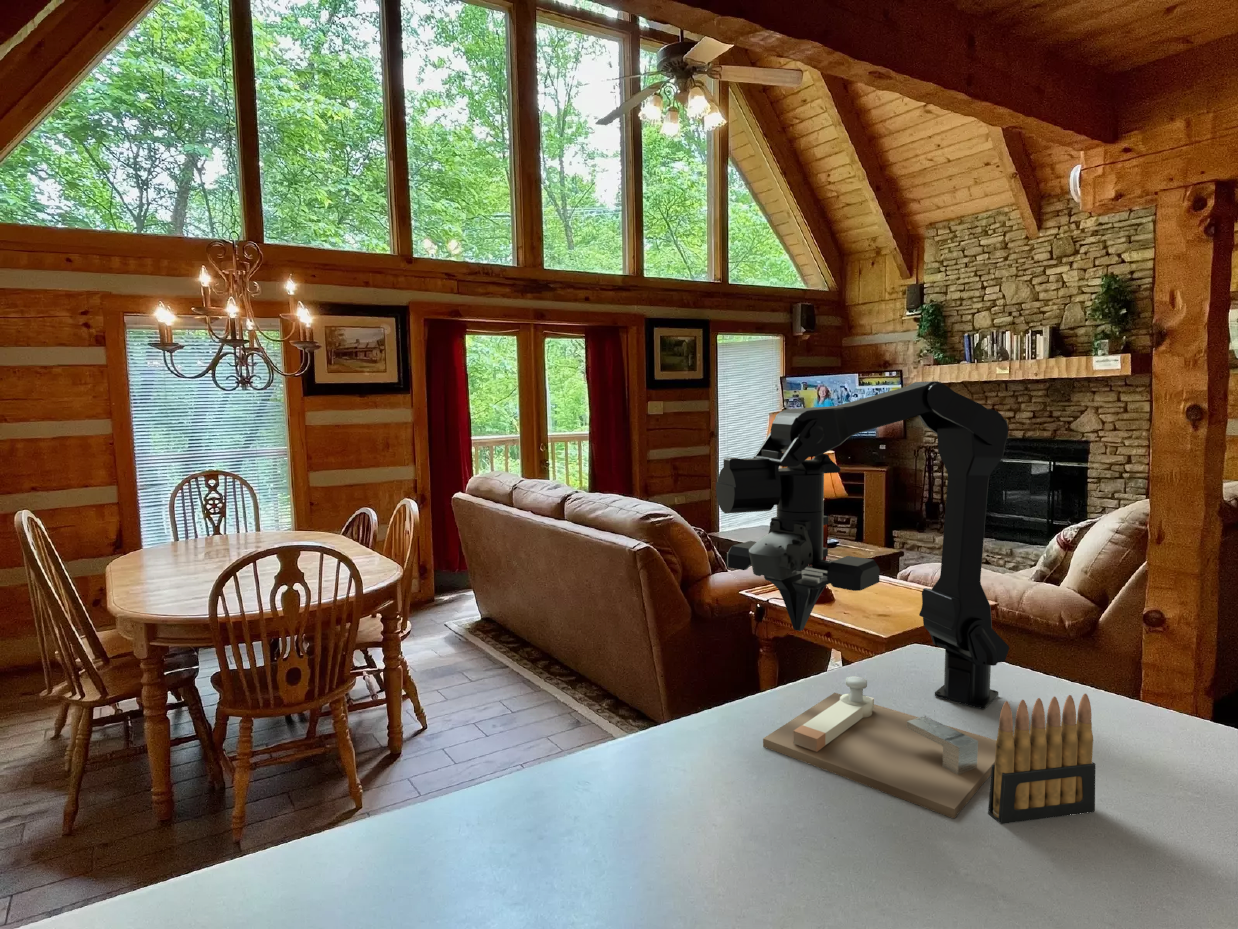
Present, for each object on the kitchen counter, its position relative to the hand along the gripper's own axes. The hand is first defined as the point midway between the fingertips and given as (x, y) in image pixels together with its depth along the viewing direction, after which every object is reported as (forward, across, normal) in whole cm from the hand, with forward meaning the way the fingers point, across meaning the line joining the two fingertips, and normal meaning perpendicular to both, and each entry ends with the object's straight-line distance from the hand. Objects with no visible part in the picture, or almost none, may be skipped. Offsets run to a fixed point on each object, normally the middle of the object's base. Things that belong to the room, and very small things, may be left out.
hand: (798, 630), depth 92 cm
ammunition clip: (+12, +28, -2) cm, 31 cm away
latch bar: (+11, +6, 0) cm, 12 cm away
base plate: (+12, +12, 0) cm, 17 cm away
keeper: (+11, +18, +1) cm, 21 cm away
